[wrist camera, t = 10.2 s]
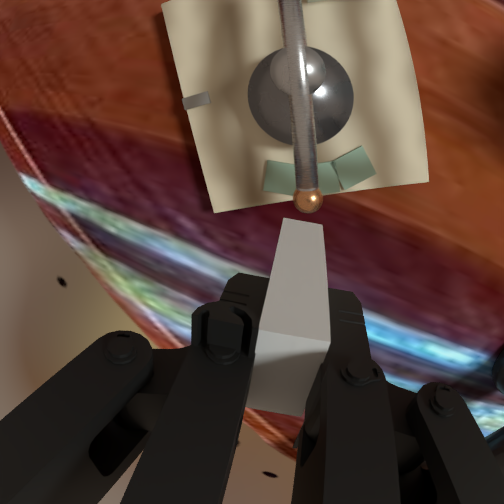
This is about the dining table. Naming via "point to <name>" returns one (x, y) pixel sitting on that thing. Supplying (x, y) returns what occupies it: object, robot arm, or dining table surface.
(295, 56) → the lever
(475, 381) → the dining table surface
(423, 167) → the stand
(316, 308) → the robot arm
